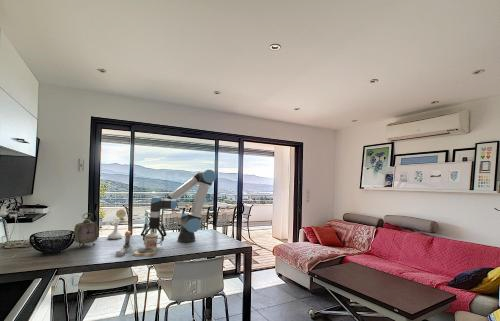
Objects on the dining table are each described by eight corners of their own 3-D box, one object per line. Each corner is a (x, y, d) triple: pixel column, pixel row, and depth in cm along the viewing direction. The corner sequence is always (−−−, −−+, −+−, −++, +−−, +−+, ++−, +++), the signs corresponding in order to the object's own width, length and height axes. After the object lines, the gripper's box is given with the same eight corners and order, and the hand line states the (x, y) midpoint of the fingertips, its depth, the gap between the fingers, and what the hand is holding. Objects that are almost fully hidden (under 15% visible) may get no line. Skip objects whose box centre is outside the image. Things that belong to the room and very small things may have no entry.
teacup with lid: (144, 249, 196) (145, 233, 197) (144, 246, 205) (145, 231, 205) (161, 248, 201) (162, 233, 202) (160, 245, 209) (161, 230, 210)
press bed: (158, 250, 195) (158, 248, 195) (153, 256, 181) (153, 253, 182) (138, 250, 194) (139, 247, 194) (132, 255, 180) (132, 253, 180)
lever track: (131, 249, 195) (132, 245, 195) (123, 256, 179) (123, 251, 179) (124, 249, 194) (125, 245, 194) (115, 256, 178) (116, 251, 178)
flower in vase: (106, 240, 218) (108, 209, 220) (109, 237, 229) (111, 208, 231) (123, 239, 222) (125, 210, 223) (125, 236, 232) (127, 208, 234)
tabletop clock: (77, 249, 189) (80, 214, 190) (71, 247, 194) (74, 213, 195) (97, 245, 201) (100, 212, 203) (91, 243, 206) (94, 211, 208)
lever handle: (131, 245, 194) (132, 230, 195) (129, 247, 190) (130, 231, 190) (125, 245, 194) (126, 230, 194) (122, 247, 189) (123, 231, 190)
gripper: (171, 216, 209) (169, 244, 208) (140, 215, 207) (138, 243, 205) (169, 218, 202) (167, 246, 200) (137, 217, 199) (135, 245, 198)
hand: (153, 245), depth 203 cm, fingers closed on teacup with lid, 12 cm apart
